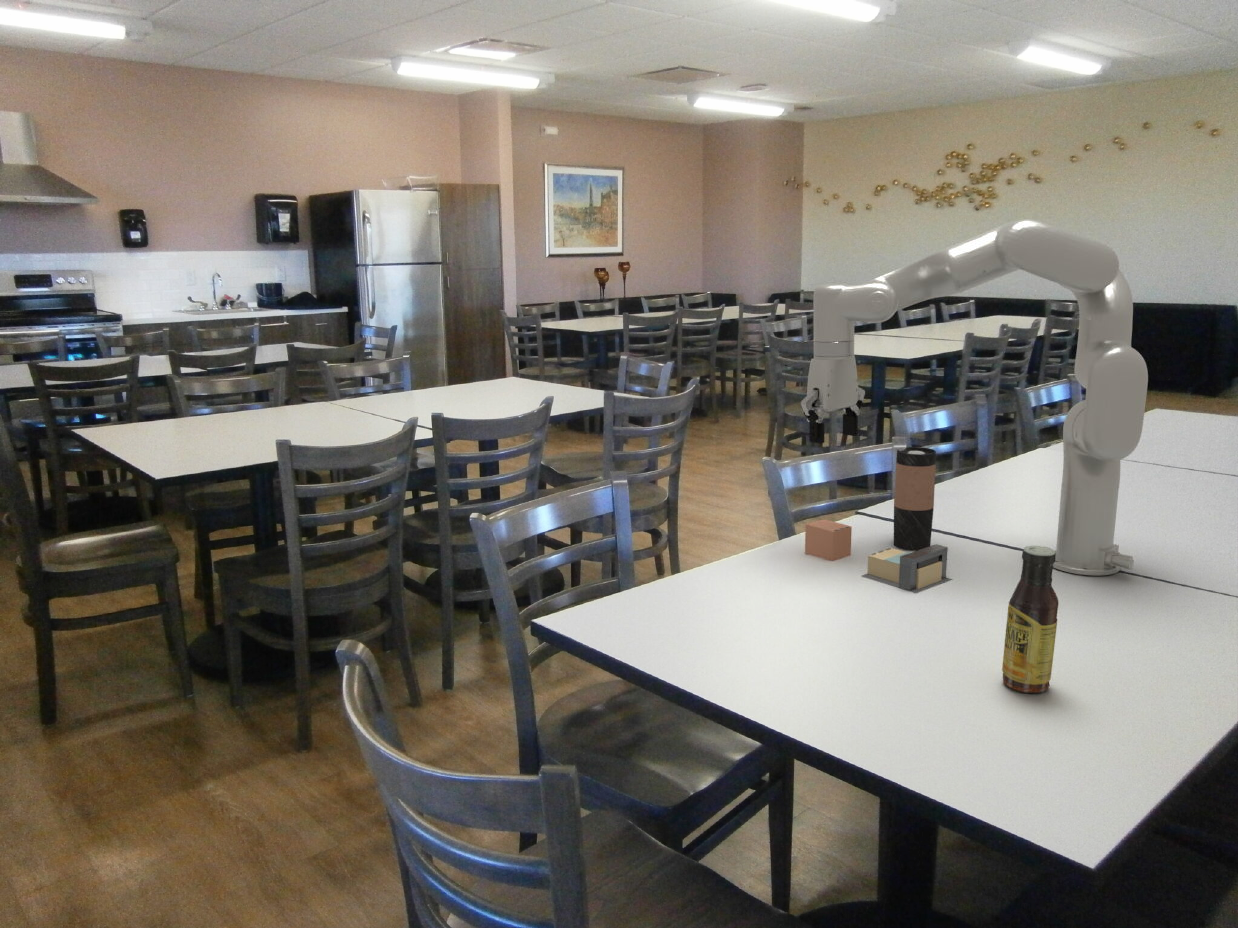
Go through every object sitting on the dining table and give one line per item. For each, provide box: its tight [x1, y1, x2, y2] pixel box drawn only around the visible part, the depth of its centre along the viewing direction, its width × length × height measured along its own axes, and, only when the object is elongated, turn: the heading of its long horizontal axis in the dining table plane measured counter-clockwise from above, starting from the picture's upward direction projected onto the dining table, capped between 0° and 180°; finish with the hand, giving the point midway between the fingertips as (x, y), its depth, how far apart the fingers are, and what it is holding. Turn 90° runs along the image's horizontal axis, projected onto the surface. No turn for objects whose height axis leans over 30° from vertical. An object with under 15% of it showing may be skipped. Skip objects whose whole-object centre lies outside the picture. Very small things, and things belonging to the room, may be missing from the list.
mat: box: [861, 572, 953, 594], centre depth 173 cm, size 12×11×1 cm
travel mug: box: [893, 446, 937, 552], centre depth 189 cm, size 8×8×20 cm
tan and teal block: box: [867, 547, 942, 589], centre depth 173 cm, size 11×7×4 cm, turn 37°
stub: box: [804, 518, 853, 562], centre depth 187 cm, size 7×6×6 cm
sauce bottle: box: [1001, 545, 1059, 694], centre depth 128 cm, size 7×6×20 cm
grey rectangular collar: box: [898, 544, 949, 592], centre depth 170 cm, size 2×11×6 cm, turn 128°
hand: (833, 438), depth 182 cm, fingers open, 9 cm apart
